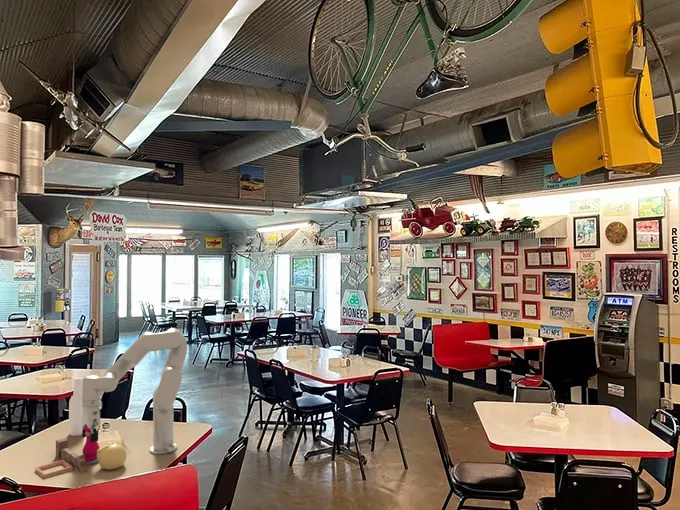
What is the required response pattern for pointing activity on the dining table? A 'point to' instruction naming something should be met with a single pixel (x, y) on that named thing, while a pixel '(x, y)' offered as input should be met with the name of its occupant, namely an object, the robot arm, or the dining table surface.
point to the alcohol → (76, 409)
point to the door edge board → (69, 455)
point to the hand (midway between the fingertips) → (90, 438)
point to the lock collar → (40, 472)
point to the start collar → (89, 461)
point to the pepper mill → (90, 446)
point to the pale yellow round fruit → (111, 456)
